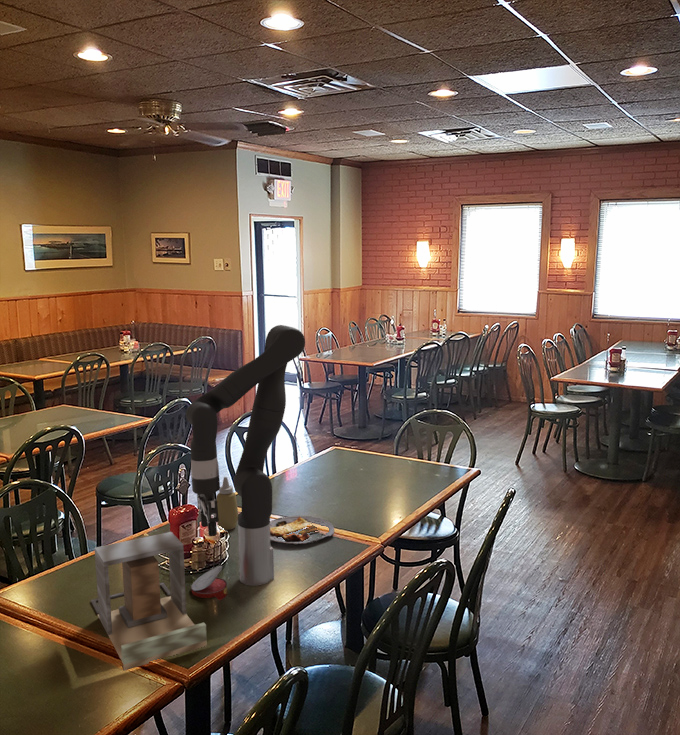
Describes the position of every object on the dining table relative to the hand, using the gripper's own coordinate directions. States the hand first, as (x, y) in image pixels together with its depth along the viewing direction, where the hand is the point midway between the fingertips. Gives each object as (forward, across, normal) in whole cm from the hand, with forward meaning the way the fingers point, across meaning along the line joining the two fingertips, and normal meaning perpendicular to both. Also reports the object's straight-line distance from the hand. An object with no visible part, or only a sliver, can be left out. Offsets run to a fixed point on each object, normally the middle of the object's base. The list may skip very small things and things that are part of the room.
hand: (209, 530), depth 200 cm
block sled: (+17, -8, +20) cm, 27 cm away
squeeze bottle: (+17, +46, -17) cm, 52 cm away
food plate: (+18, +30, -37) cm, 51 cm away
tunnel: (+18, -10, +20) cm, 29 cm away
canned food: (+19, 0, +1) cm, 19 cm away
